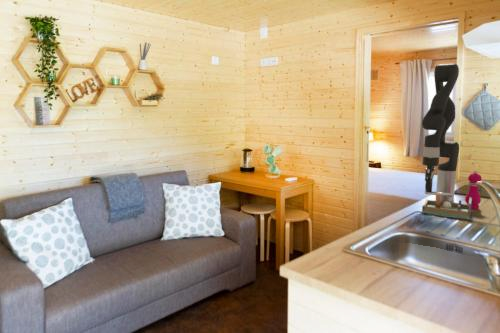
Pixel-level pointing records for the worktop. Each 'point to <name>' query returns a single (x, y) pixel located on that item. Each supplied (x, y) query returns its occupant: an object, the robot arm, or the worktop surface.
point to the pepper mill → (473, 191)
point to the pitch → (454, 211)
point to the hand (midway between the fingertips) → (428, 187)
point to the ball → (447, 205)
